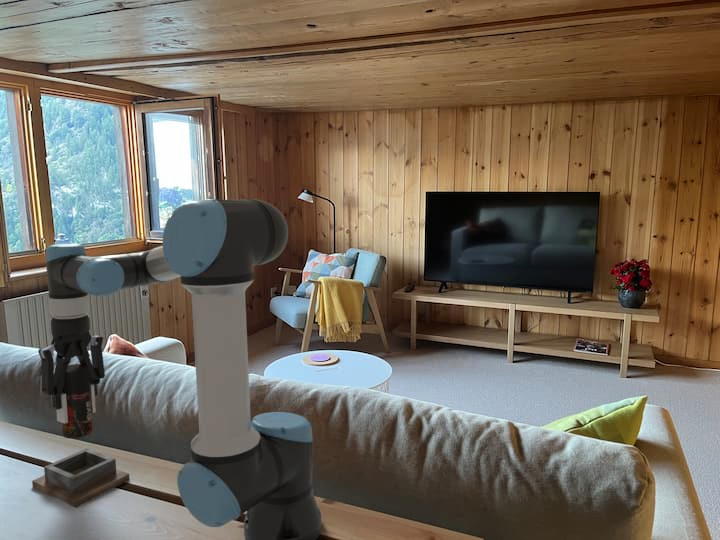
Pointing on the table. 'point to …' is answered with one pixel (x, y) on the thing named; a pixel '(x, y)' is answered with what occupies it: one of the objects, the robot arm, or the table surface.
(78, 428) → the deodorant
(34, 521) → the table surface
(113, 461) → the socket stand
